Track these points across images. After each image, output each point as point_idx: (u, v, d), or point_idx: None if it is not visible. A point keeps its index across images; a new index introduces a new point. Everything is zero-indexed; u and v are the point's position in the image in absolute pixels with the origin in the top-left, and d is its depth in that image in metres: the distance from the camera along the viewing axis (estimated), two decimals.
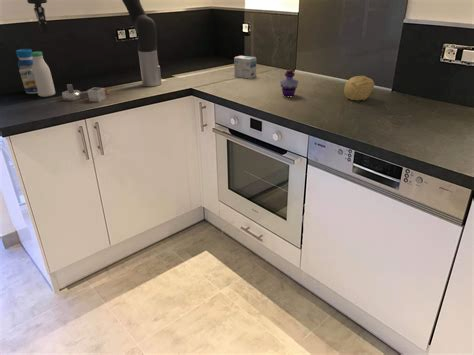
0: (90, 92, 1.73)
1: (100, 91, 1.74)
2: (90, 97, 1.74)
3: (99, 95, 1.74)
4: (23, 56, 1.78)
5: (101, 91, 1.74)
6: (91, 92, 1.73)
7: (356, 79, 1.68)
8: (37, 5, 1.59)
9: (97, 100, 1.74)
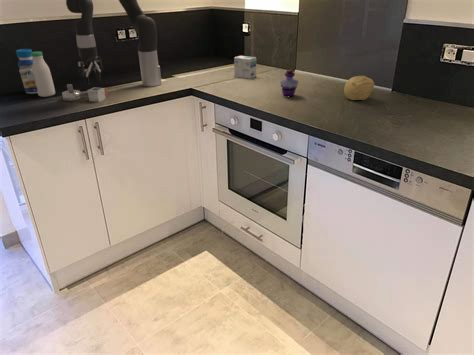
0: (90, 92, 1.73)
1: (100, 91, 1.74)
2: (90, 97, 1.74)
3: (99, 95, 1.74)
4: (23, 56, 1.78)
5: (101, 91, 1.74)
6: (91, 92, 1.73)
7: (356, 79, 1.68)
8: None
9: (97, 100, 1.74)
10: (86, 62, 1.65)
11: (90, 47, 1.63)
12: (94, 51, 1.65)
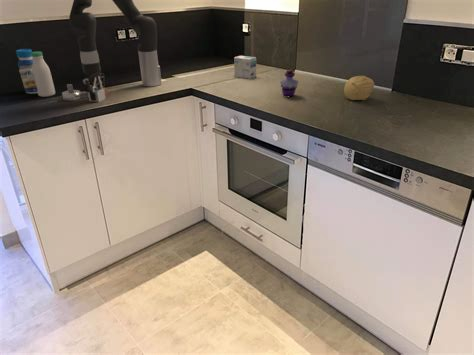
0: None
1: (100, 91, 1.74)
2: None
3: (99, 95, 1.74)
4: (23, 56, 1.78)
5: (101, 91, 1.74)
6: None
7: (356, 79, 1.68)
8: None
9: (97, 100, 1.74)
10: (90, 77, 1.68)
11: (94, 63, 1.66)
12: (98, 67, 1.68)
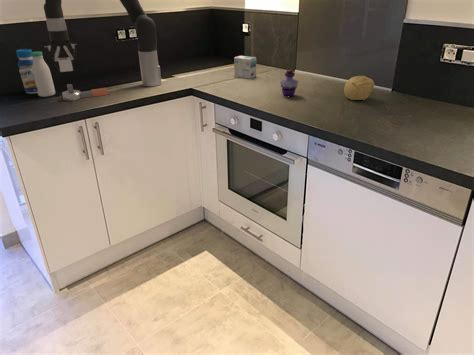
0: None
1: (64, 61, 1.68)
2: None
3: (62, 66, 1.69)
4: (23, 56, 1.78)
5: (66, 62, 1.69)
6: None
7: (356, 79, 1.68)
8: None
9: (60, 70, 1.70)
10: (52, 45, 1.65)
11: (53, 31, 1.61)
12: (58, 35, 1.62)
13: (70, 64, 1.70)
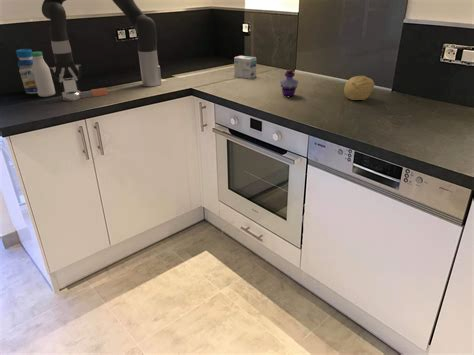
0: (62, 81, 1.75)
1: (68, 82, 1.73)
2: None
3: (67, 86, 1.73)
4: (23, 56, 1.78)
5: (70, 82, 1.73)
6: (62, 81, 1.74)
7: (356, 79, 1.68)
8: (73, 62, 1.72)
9: (64, 90, 1.74)
10: (57, 67, 1.69)
11: (58, 53, 1.65)
12: (63, 57, 1.67)
13: (74, 84, 1.74)
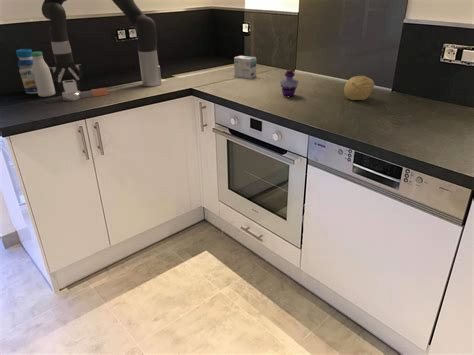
0: (63, 83, 1.75)
1: (69, 84, 1.73)
2: (64, 88, 1.77)
3: (67, 88, 1.74)
4: (23, 56, 1.78)
5: (71, 84, 1.74)
6: (63, 83, 1.75)
7: (356, 79, 1.68)
8: (73, 63, 1.72)
9: (65, 92, 1.75)
10: (57, 67, 1.69)
11: (58, 54, 1.65)
12: (63, 58, 1.67)
13: (75, 87, 1.75)
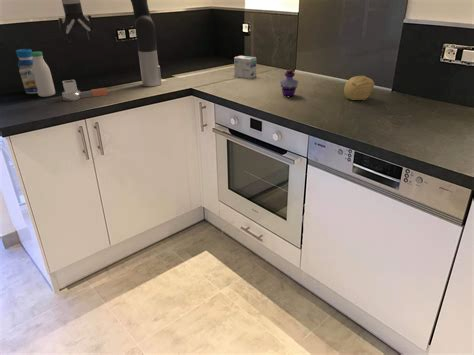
0: (63, 83, 1.75)
1: (69, 84, 1.73)
2: (64, 88, 1.77)
3: (67, 88, 1.74)
4: (23, 56, 1.78)
5: (71, 84, 1.74)
6: (63, 83, 1.75)
7: (356, 79, 1.68)
8: None
9: (65, 92, 1.75)
10: (67, 19, 1.68)
11: (68, 3, 1.64)
12: (73, 8, 1.65)
13: (75, 87, 1.75)
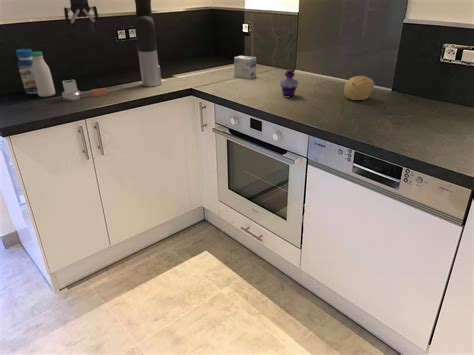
0: (63, 83, 1.75)
1: (69, 84, 1.73)
2: (64, 88, 1.77)
3: (67, 88, 1.74)
4: (23, 56, 1.78)
5: (71, 84, 1.74)
6: (63, 83, 1.75)
7: (356, 79, 1.68)
8: (88, 5, 1.72)
9: (65, 92, 1.75)
10: (72, 8, 1.69)
11: None
12: None
13: (75, 87, 1.75)
